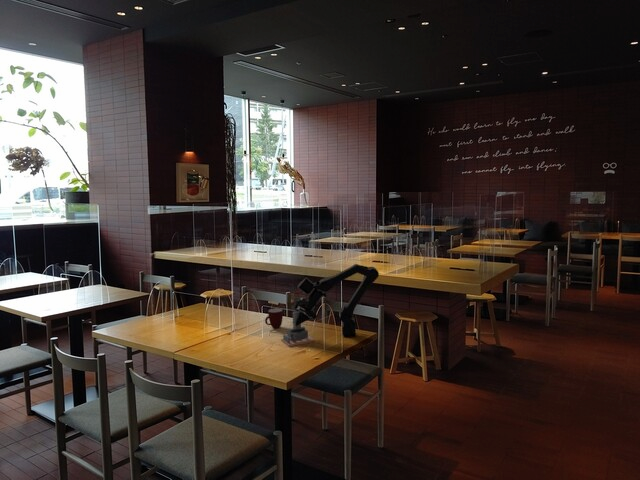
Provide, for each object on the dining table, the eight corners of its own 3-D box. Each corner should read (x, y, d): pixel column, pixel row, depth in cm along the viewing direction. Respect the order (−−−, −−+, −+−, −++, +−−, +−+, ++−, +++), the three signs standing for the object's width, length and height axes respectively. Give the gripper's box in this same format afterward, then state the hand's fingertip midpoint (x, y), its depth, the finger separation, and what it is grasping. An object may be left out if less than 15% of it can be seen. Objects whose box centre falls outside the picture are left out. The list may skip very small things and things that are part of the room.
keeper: (305, 335, 253) (305, 328, 252) (314, 341, 244) (314, 333, 243) (281, 341, 247) (280, 333, 246) (289, 346, 238) (288, 339, 237)
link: (301, 333, 250) (300, 309, 248) (308, 337, 243) (306, 312, 241) (287, 336, 247) (286, 311, 245) (293, 340, 240) (292, 315, 238)
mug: (271, 332, 261) (270, 314, 260) (262, 329, 267) (261, 311, 266) (286, 327, 268) (285, 310, 267) (277, 324, 274) (276, 307, 273)
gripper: (294, 287, 252) (276, 311, 248) (310, 294, 235) (291, 320, 232) (309, 299, 256) (291, 323, 253) (325, 307, 240) (306, 332, 236)
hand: (294, 324), depth 243 cm, fingers closed on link, 3 cm apart
